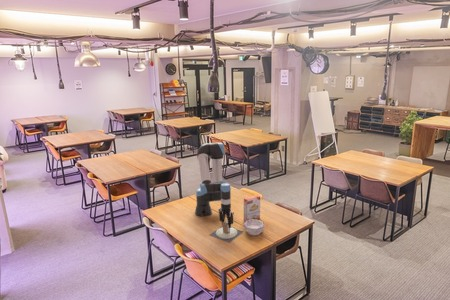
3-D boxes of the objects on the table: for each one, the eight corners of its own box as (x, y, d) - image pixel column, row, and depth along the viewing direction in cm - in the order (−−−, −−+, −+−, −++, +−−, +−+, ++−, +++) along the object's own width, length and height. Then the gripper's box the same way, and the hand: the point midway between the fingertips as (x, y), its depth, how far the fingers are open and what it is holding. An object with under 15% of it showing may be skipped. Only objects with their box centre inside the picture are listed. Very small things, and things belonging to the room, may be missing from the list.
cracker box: (247, 223, 262) (247, 200, 257) (243, 220, 267) (243, 197, 262) (260, 218, 270) (260, 196, 264) (256, 216, 275) (256, 194, 269)
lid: (211, 234, 244) (211, 223, 242) (224, 226, 257) (224, 215, 255) (229, 241, 234) (228, 229, 232) (241, 231, 248) (241, 220, 245)
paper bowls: (263, 238, 238) (263, 228, 236) (243, 236, 241) (243, 227, 239) (264, 228, 253) (264, 219, 251) (245, 227, 256) (245, 218, 254)
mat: (208, 235, 244) (208, 235, 244) (223, 225, 259) (223, 224, 259) (229, 243, 232) (229, 242, 232) (244, 232, 248) (244, 231, 248)
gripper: (214, 202, 241) (215, 229, 247) (232, 207, 231) (232, 235, 237) (220, 198, 247) (220, 225, 253) (237, 203, 237) (238, 231, 243)
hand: (226, 230), depth 245 cm, fingers closed on lid, 4 cm apart
